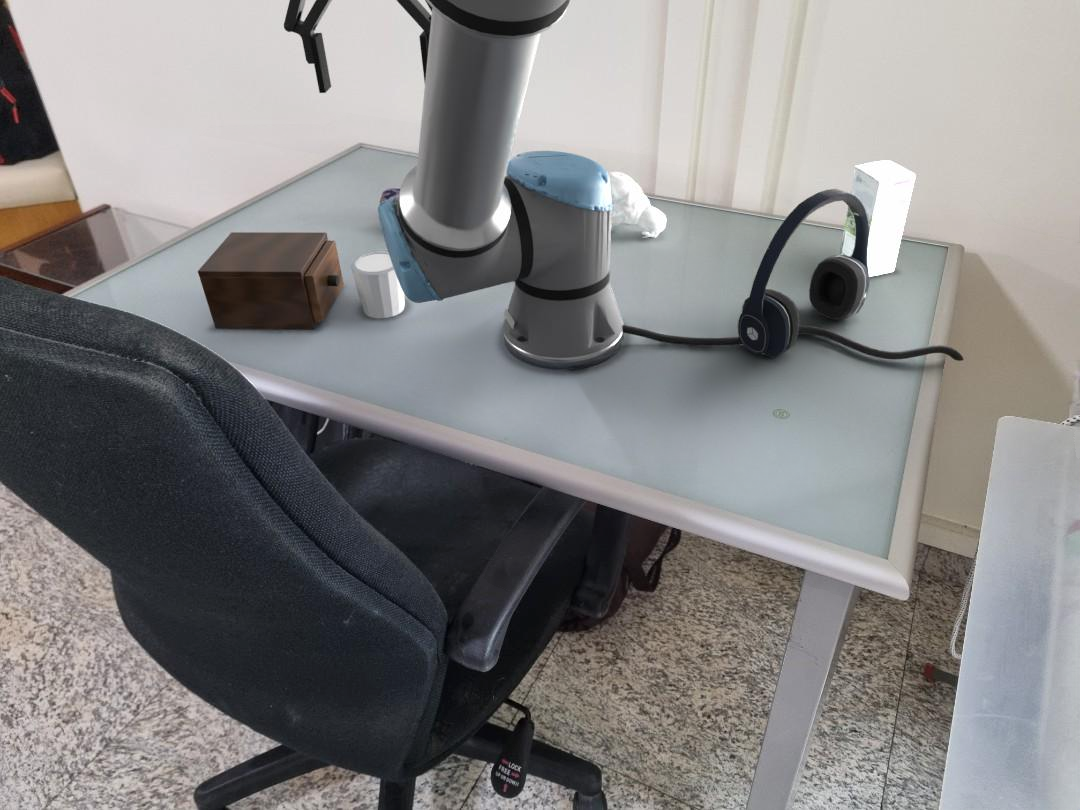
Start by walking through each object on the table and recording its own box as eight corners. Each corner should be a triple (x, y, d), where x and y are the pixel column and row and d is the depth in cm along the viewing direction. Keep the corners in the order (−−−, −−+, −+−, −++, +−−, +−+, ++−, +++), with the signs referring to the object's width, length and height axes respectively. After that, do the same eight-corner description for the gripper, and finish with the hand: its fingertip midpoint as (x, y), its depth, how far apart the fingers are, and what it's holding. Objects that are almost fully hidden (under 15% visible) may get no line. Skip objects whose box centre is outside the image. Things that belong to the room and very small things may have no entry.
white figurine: (616, 162, 132) (680, 186, 126) (611, 212, 137) (672, 237, 132) (591, 175, 128) (656, 200, 122) (587, 225, 134) (649, 252, 128)
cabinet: (337, 287, 120) (326, 232, 115) (313, 330, 111) (300, 271, 106) (246, 287, 122) (231, 232, 117) (215, 328, 112) (197, 271, 107)
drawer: (352, 284, 119) (343, 240, 115) (331, 322, 111) (322, 276, 107) (258, 283, 120) (247, 240, 116) (231, 321, 112) (218, 275, 108)
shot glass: (399, 322, 112) (392, 275, 108) (351, 319, 113) (342, 272, 109) (415, 297, 117) (409, 251, 113) (369, 294, 119) (361, 249, 114)
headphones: (827, 296, 113) (852, 165, 103) (871, 316, 109) (902, 180, 98) (725, 348, 104) (741, 209, 93) (769, 372, 99) (791, 229, 89)
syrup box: (895, 272, 118) (919, 172, 110) (859, 279, 117) (880, 179, 108) (870, 255, 123) (891, 158, 114) (835, 262, 121) (854, 164, 113)
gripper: (464, -114, 96) (479, 79, 108) (253, -106, 98) (291, 82, 110) (453, -107, 90) (470, 96, 102) (228, -99, 92) (272, 99, 104)
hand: (377, 89), depth 106 cm, fingers open, 13 cm apart
